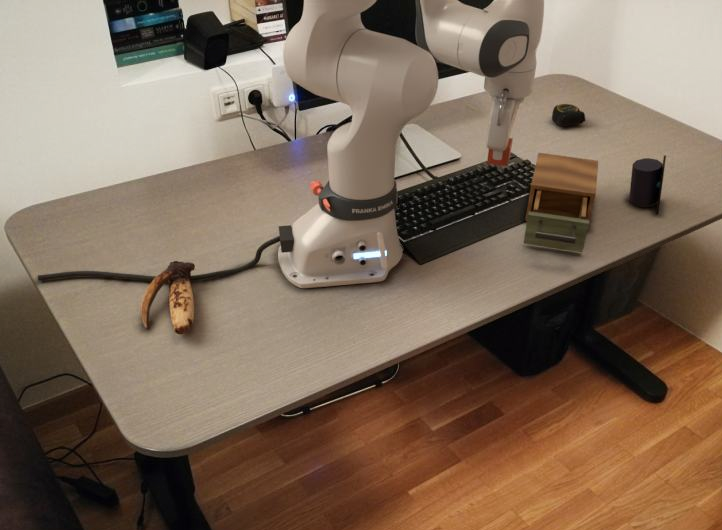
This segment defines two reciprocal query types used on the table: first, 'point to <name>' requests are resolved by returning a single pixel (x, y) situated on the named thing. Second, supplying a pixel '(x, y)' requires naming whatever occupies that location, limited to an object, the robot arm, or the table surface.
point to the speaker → (646, 182)
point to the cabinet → (564, 178)
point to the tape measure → (567, 115)
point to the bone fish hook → (173, 296)
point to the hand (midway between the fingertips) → (499, 152)
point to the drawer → (557, 221)
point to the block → (505, 158)
